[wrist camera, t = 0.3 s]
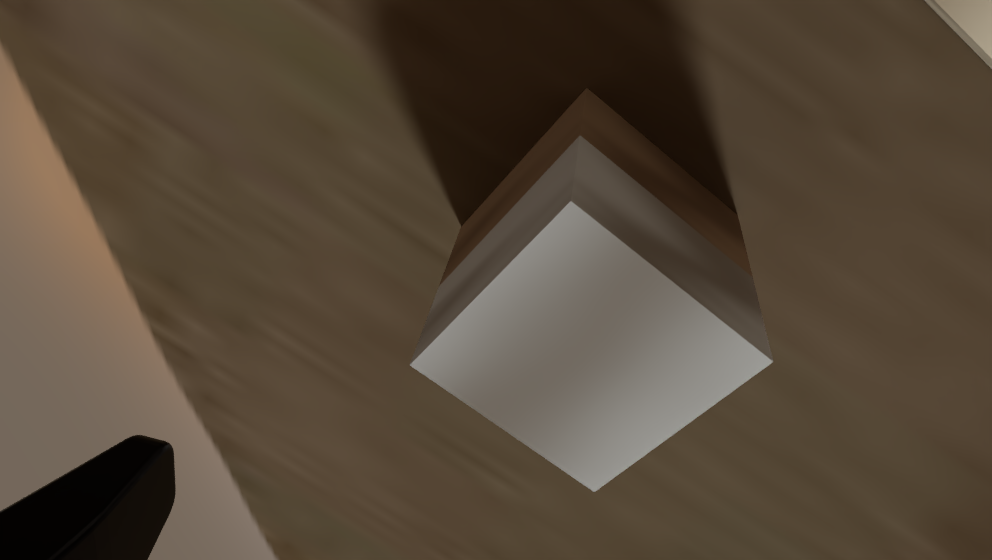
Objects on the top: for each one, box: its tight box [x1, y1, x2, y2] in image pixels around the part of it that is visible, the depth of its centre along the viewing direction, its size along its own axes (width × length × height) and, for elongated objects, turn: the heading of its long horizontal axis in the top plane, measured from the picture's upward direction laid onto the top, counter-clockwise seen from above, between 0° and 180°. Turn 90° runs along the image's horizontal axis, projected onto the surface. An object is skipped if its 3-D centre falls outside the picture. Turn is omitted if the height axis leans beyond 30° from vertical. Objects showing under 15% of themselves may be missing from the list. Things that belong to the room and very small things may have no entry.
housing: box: [410, 88, 773, 492], centre depth 18 cm, size 5×5×6 cm
